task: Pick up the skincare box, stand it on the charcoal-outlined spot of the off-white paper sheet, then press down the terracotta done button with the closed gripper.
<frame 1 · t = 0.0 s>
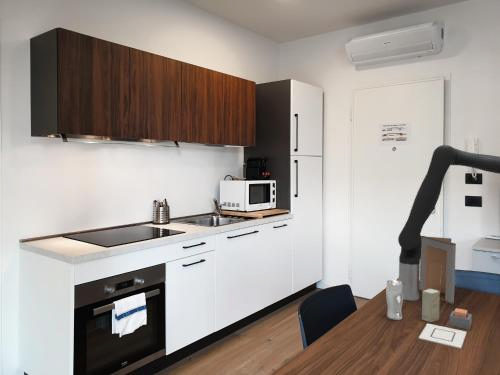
skincare box: (430, 320, 166), on the table
done button: (460, 313, 160), point 5 cm above the table, slide at 0.0 cm
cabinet: (442, 296, 195), on the table
paper sheet: (443, 335, 150), on the table
button housing: (460, 324, 160), on the table
beer glass: (394, 317, 168), on the table
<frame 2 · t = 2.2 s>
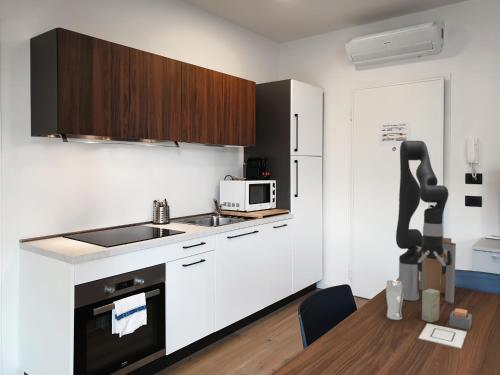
hand: (431, 272, 164), 20 cm above the table, fingers open, 8 cm apart
nothing on the table moved.
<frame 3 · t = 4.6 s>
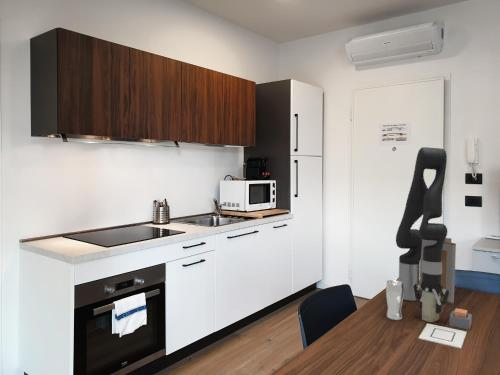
hand: (430, 311, 165), 3 cm above the table, fingers closed on skincare box, 5 cm apart
skincare box: (430, 320, 166), on the table, touching gripper
everything else where it was.
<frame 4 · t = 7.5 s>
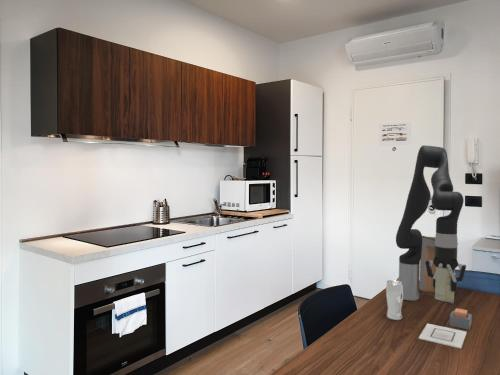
hand: (444, 289, 149), 18 cm above the table, fingers closed on skincare box, 5 cm apart
skincare box: (444, 299, 149), point 14 cm above the table, touching gripper
everything else where it was.
when the fingers open (5 cm above the table, at t = 10.6 s): skincare box drops 1 cm, resting on paper sheet.
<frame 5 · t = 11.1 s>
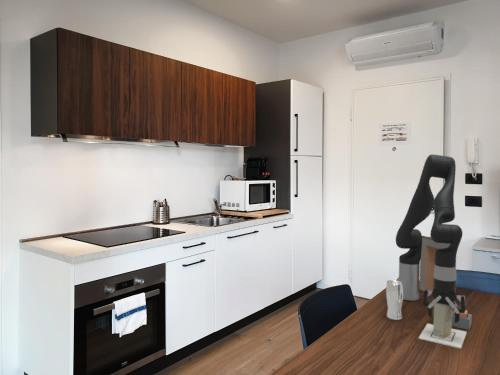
hand: (443, 319, 150), 6 cm above the table, fingers open, 8 cm apart
skincare box: (442, 334, 150), resting on paper sheet
everything else where it was.
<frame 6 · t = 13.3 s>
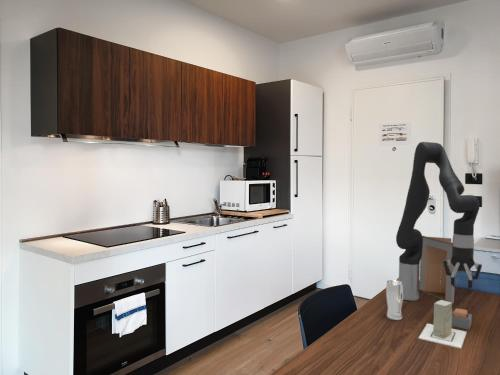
hand: (461, 287, 159), 15 cm above the table, fingers open, 5 cm apart
nothing on the table moved.
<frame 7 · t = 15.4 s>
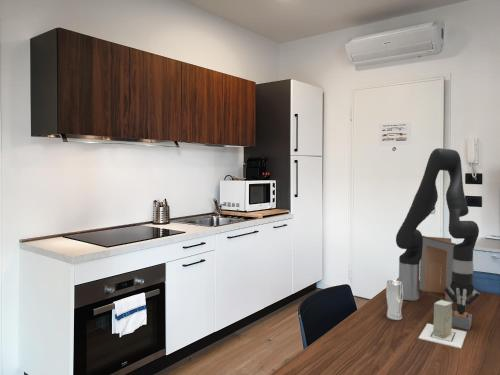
hand: (461, 313, 160), 5 cm above the table, fingers closed
done button: (460, 316, 160), point 4 cm above the table, slide at 1.0 cm, touching gripper
everything else where it was.
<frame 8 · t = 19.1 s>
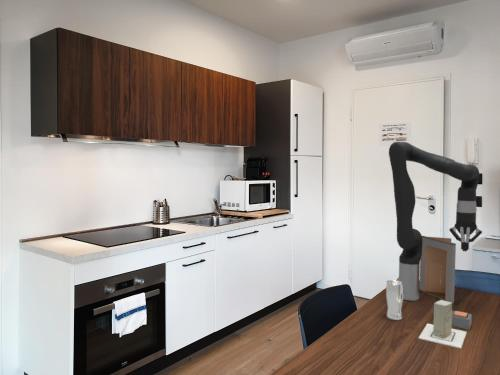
hand: (464, 250, 172), 27 cm above the table, fingers closed
done button: (460, 316, 160), point 3 cm above the table, slide at 1.1 cm
everything else where it was.
at the end: skincare box inside the target area on the paper sheet (0.4 cm from its centre), point 0.2 cm above the paper sheet's base; skincare box tilted 0°; done button slide at 1.1 cm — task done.
